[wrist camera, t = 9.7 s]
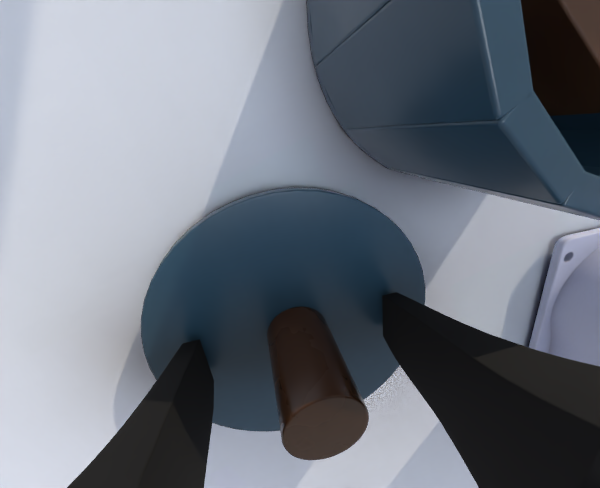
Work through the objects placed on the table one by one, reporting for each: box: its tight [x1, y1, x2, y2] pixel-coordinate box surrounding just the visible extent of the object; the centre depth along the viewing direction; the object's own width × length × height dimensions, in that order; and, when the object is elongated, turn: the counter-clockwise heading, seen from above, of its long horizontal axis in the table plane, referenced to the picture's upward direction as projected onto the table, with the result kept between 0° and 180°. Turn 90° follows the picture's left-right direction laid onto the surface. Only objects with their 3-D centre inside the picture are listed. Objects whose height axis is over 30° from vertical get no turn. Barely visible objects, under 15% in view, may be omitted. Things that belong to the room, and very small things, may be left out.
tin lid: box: [141, 188, 425, 460], centre depth 10 cm, size 11×11×5 cm
